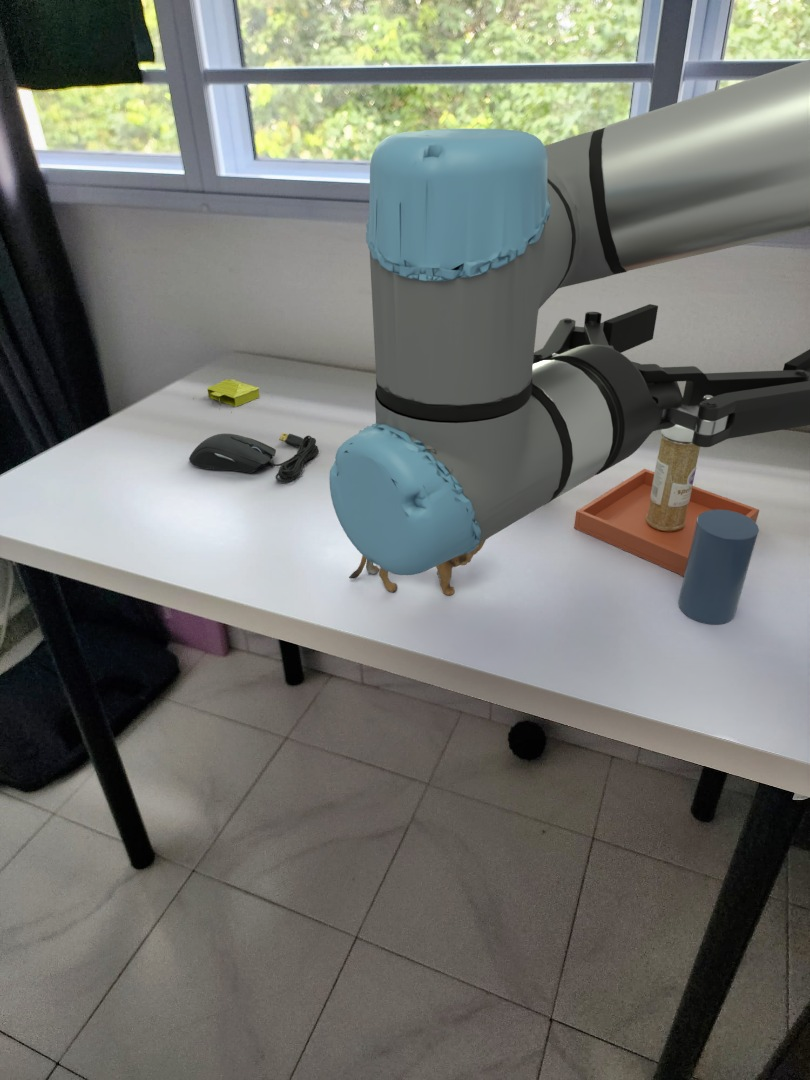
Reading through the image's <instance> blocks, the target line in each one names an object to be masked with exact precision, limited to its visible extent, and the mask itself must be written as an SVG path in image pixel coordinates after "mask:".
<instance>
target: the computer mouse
mask: <svg viewBox="0 0 810 1080" xmlns="http://www.w3.org/2000/svg"><path fill="white" fill-rule="evenodd" d="M278 440H279V441H281V442H284V443H285V444H286V445H289V446H292V447H294V448H297V451H296V454H293V456H292V457H291V458H289V459H287V460H285V461H284V462H281V463H274V462H273V461H271V460H272V459H274V457H275V456H276V452H277V449H276V448H274V447H272V446H270V445H268V444H266V443H263V442H261V441H259V440H256V439H254V438H251V437H247V436H243V435H240V434H234V433H217V434H214V435H211V436H209V437H207V438H206V439H204V440H203V441H202V442H200V443H199V444H198V445H197V446H196V447H195V448H194V449H193V451H192V452H191V454H190V455H189V457H188V460H189V462H190V463H191V464H192V465H193V466H194V467H196V468H200V469H204V470H212V471H236V472H243V473H249V474H252V473H254V472H257V471H258V470H260V469H262V468H263V467H271V468H274V467H279V468H278V472H277V473H276V474H275V480H276V481H278V482H280V483H288V482H291V481H293V480H294V479H295V478H297V477H299V476H300V474H301V473H302V471H303V468H304V465H306V464H307V461H309V460H311V459H313V458H314V457H316V456H317V455H318V454H319V446H318V445H317V444H316V443H317V440H316V438H315V437H312V436H311V435H310V434H309V435H306V436H304V437H301V436H299V435H295V434H293V433H286V432H281V435H280V437H279V439H278Z"/></svg>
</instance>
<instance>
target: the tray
mask: <svg viewBox="0 0 810 1080" xmlns="http://www.w3.org/2000/svg"><path fill="white" fill-rule="evenodd" d="M654 473H655V471H652V470H650V469H646V468H643V469H641V470H640V471H638V472H636V473H635V474H633V475H632V476H630V477H629V478H627V479H625V480H624V481H622V482H621V483H619V484H617V485H616V486H614V487H612V488H611V489H609V490H607V491H606V492H604V493H603V494H601V495H600V496H598V497H596V498H595V499H593V500H591V501H590V502H588V503H587V504H585V505H583V506H582V507H580V508H579V509H577V510H576V511H575V516H574V517H575V518H574V524H573V529H575V530H577V531H580V532H582V533H584V534H586V535H589V536H591V537H593V538H595V539H598V540H600V541H602V542H605V543H607V544H609V545H612V546H613V547H616V548H618V549H621V550H623V551H625V552H626V553H627V552H628V553H629V554H632V555H635V556H636V557H639V558H641V559H644V560H646V561H647V562H650V563H652V564H654V565H657V566H659V567H661V568H664V569H666V570H667V571H668V570H669V571H670V572H673V573H675V574H678V575H680V576H682V577H684V574H685V570H686V565H687V561H688V556H689V552H690V547H691V543H692V539H693V534H694V530H695V525H696V521H697V517H698V516H699V515H700V514H701V513H703V512H705V511H709V510H729V511H734V512H737V513H740V514H743V515H745V516H747V517H749V518H751V519H752V520H753V521H754V522H755V523H756V524H757V520H758V517H759V513H760V509H759V508H755V507H753V506H750V505H748V504H745V503H742V502H739V501H736V500H733V499H730V498H728V497H725V496H722V495H719V494H717V493H714V492H712V491H708V490H705V489H703V488H701V487H698V486H694V485H693V486H692V491H691V496H690V501H689V503H688V507H687V511H686V517H685V526H684V527H683V528H682V529H680V530H678V531H672V532H670V531H669V532H668V531H661V530H658V529H655V528H653V527H651V526H650V525H649V524H648V523H647V521H646V516H647V514H648V512H649V506H650V500H651V497H650V495H651V490H652V484H653V479H654Z"/></svg>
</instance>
